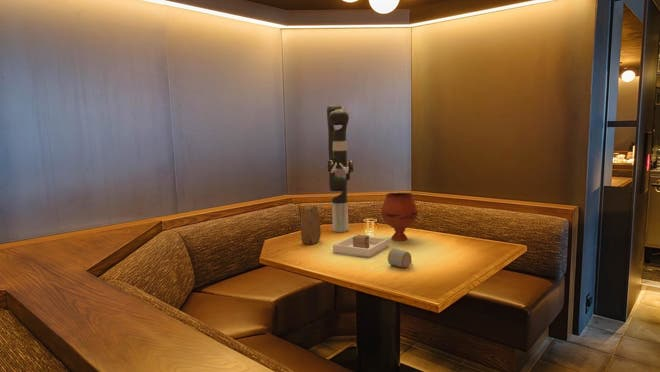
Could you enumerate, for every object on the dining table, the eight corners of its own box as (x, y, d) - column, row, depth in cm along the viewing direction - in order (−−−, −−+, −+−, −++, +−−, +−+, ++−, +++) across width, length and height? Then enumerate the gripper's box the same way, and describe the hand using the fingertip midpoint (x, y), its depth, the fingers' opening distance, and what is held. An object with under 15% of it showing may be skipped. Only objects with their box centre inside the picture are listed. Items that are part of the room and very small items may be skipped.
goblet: (422, 236, 235) (422, 192, 232) (409, 245, 219) (409, 197, 216) (390, 233, 245) (390, 190, 242) (376, 241, 229) (375, 195, 226)
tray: (354, 242, 228) (354, 235, 228) (388, 246, 218) (388, 238, 217) (332, 252, 210) (332, 244, 209) (369, 257, 199) (369, 249, 199)
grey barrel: (403, 270, 180) (403, 252, 179) (387, 266, 185) (387, 249, 184) (416, 264, 188) (416, 247, 187) (400, 261, 193) (400, 244, 192)
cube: (358, 245, 218) (358, 234, 217) (369, 247, 214) (369, 235, 214) (353, 248, 213) (352, 237, 212) (363, 250, 209) (363, 238, 209)
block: (311, 245, 224) (309, 208, 222) (299, 243, 229) (298, 207, 226) (323, 241, 233) (321, 205, 231) (312, 239, 237) (310, 204, 235)
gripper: (355, 149, 224) (355, 179, 226) (331, 149, 231) (332, 178, 233) (348, 150, 217) (348, 181, 220) (324, 150, 225) (325, 180, 227)
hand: (340, 180), depth 227 cm, fingers open, 8 cm apart
